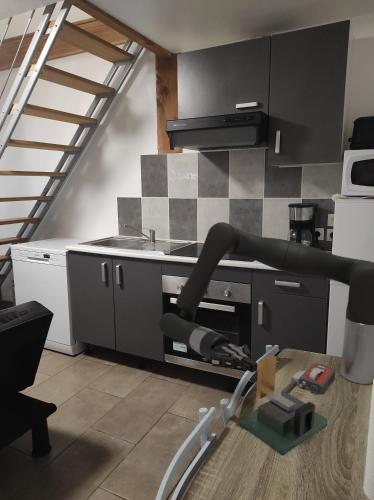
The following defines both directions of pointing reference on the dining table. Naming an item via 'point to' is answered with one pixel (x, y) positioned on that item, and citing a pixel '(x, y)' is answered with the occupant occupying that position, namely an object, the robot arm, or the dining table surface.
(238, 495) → the dining table surface
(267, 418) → the green tiered platform
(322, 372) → the walkie-talkie
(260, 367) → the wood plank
